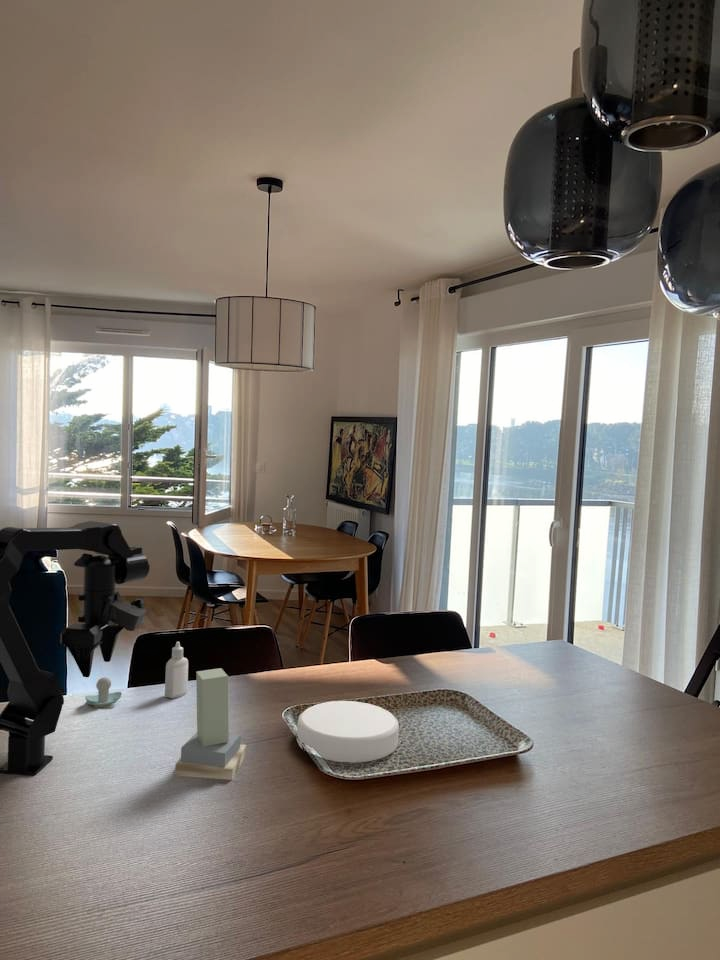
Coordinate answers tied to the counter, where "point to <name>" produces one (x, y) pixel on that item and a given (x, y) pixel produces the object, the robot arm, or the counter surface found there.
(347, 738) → the container
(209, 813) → the counter surface
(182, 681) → the eye dropper bottle
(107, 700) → the pacifier
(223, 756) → the tower middle
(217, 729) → the pillar block
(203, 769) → the tower base
